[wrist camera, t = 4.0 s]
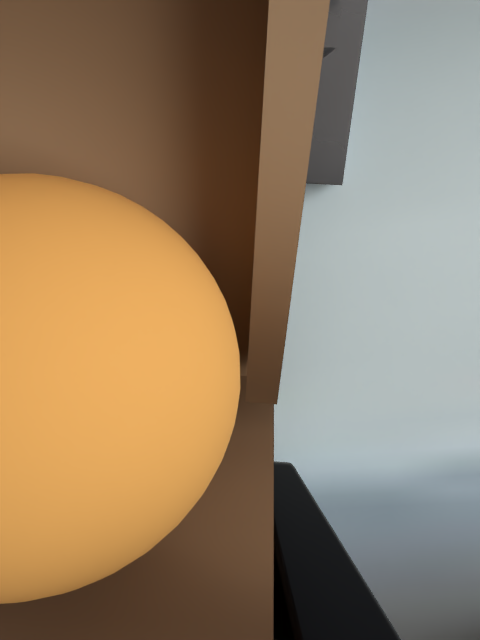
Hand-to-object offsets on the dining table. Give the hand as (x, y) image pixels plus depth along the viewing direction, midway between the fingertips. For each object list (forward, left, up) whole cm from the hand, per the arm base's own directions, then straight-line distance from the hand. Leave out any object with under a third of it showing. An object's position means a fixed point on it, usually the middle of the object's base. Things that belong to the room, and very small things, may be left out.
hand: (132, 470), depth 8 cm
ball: (+3, 0, +2) cm, 4 cm away
